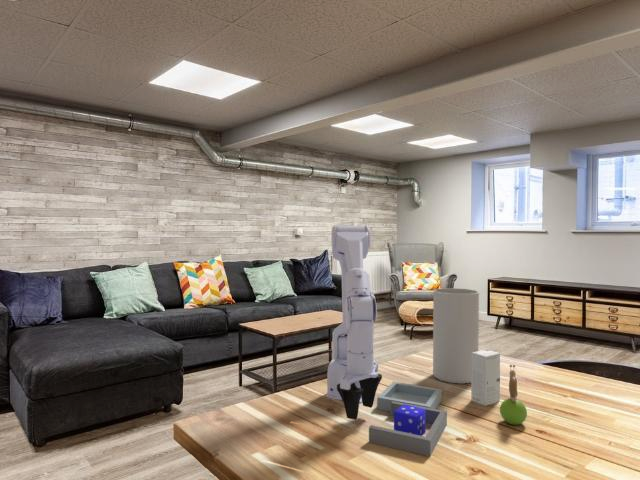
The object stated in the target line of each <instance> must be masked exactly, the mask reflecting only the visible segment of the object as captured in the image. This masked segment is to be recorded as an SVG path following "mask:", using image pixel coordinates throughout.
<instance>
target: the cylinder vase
mask: <svg viewBox="0 0 640 480" xmlns="http://www.w3.org/2000/svg"><path fill="white" fill-rule="evenodd" d="M432 307H433V308H432V309H433V311H432V313H433V314H432V315H433V316H432V317H433V318H432V320H433V322H432V326H433V327H432V329H433V331H432V374H433V376H434V378H436V379H437V380H439V381H441V382H445V383H450V384H455V383H458V384H459V385H462V384H463V385H464V384H465V383H467V384H471V361H472V352H477V351H479V345H480V344H479V333H480V332H479V331H480V329H479V326H480V325H479V323H480V321H479V320H480V319H479V318H480V291H479V290H475V289H467V288H456V287H454V288H453V287H451V288H450V287H448V288H445V287H443V288H434V289H433V304H432ZM458 384H457V385H458Z"/></svg>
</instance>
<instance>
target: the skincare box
mask: <svg viewBox="0 0 640 480" xmlns="http://www.w3.org/2000/svg"><path fill="white" fill-rule="evenodd" d="M470 385H471V386H470V387H471V391H470V392H471V394H470V395H471V399H470V400H471V401H472V402H474V403H476V404H479V405H481V406H485V407H486V406H490V405H494V404H496V403H499V402H501V354H500V352H497V351H493V350H489V349H484V350H478V351H477V352H472V361H471V383H470Z"/></svg>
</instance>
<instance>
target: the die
mask: <svg viewBox="0 0 640 480" xmlns="http://www.w3.org/2000/svg"><path fill="white" fill-rule="evenodd" d="M426 424H427V423H426V410H425V409H423V408H419V407H414V406H410V405H406V404H403V405H402V406H401V407H400V408H398V409H397V410H396V411H394V416H393V430H396V431H401V432H406V433H410V434H415V435H420V436H423V435H424V434H425V433H426Z"/></svg>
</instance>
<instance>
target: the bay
mask: <svg viewBox="0 0 640 480" xmlns="http://www.w3.org/2000/svg"><path fill="white" fill-rule="evenodd" d="M403 404H406V403H400V402H395V401H393V402H392V403H391V412H390V416H391V417H394V411H396V410H397V409H398V408H400V407H401V406H402V405H403ZM406 405H410V406H414V407H419V408H423V409H425V410H426V423H425V424H429V425H432V426H431V427H430V428H429V430H428V432H427V434H426V435H425V436H423V435H422V436H420V435H415V434H410V433H406V432H401V431H396V430H394V429H392V428H386V427H381V426H378V425H371V424H370V425H369V427H368V443H371V444H374V445H378V446H383V447H386V448H392V449H394V450H395V449H396V450H400V451H404V452H408V453H413V454H417V455H422V456H427V457H431V456H432V454H433V452H434V451H435V449H436V447H437V444H438V442H439V440H440V439H441V436H442V435H443V433H444V431H445V429H446V428H447V426H448V420H447V418H448V411H447V410H444V409H443V410H442V409H437V408H436V409H433V408H427V407H422V406H417V405H411V404H406Z"/></svg>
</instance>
